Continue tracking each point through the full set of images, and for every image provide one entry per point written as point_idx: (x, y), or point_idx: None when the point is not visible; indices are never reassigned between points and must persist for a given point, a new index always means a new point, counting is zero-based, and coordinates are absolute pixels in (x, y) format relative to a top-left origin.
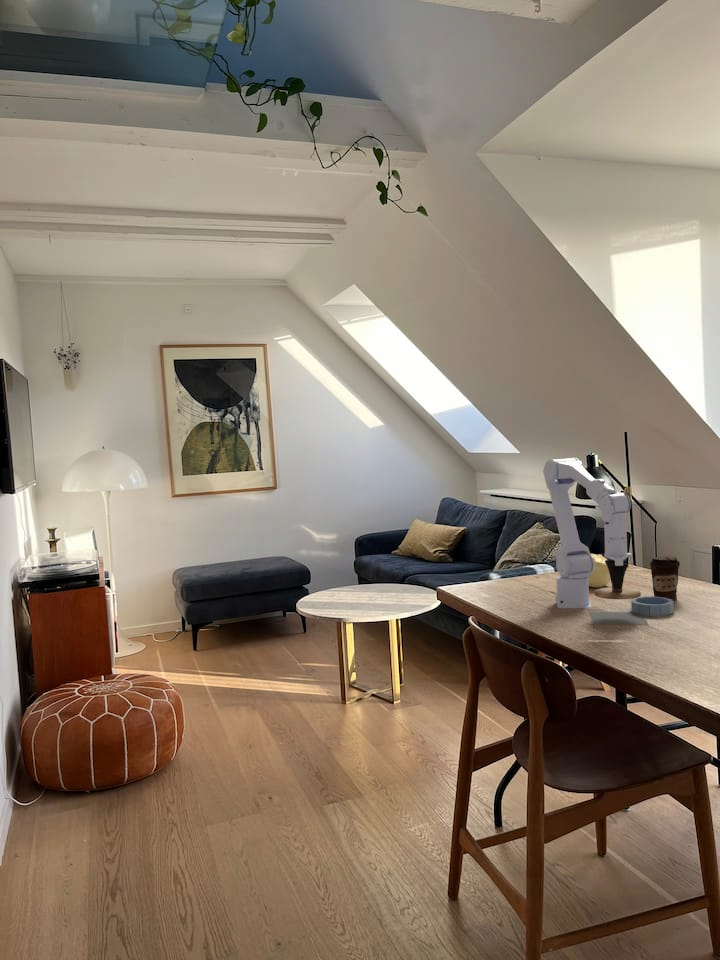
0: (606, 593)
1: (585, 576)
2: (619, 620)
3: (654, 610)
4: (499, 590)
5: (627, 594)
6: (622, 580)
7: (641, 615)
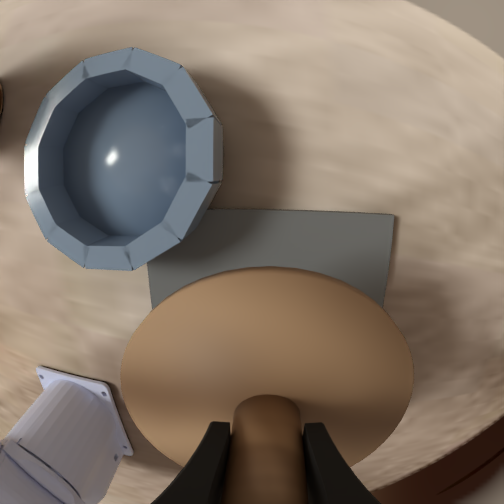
0: None
1: (45, 469)
2: None
3: (217, 154)
4: None
5: (368, 372)
6: (347, 467)
7: (211, 219)
